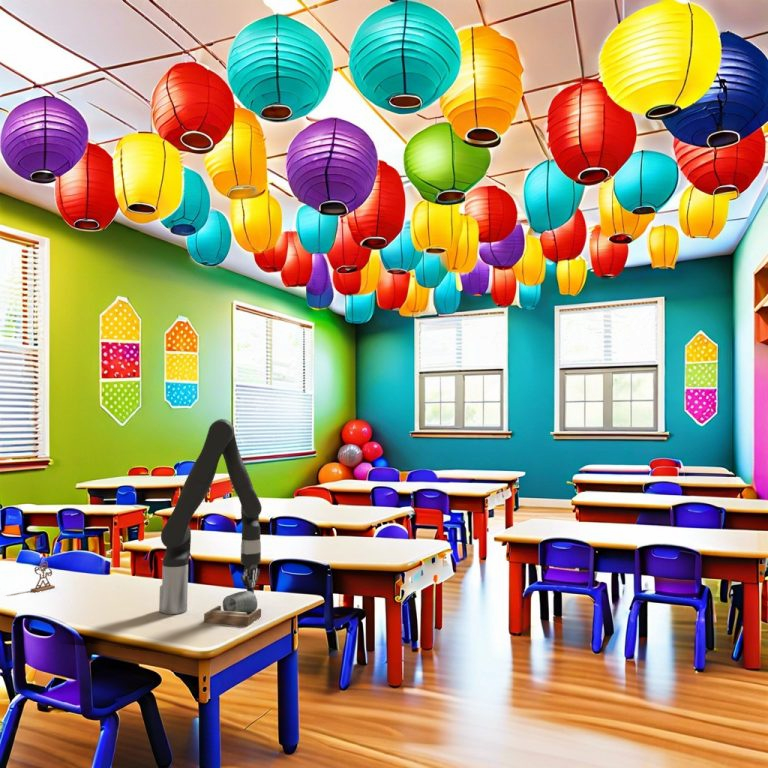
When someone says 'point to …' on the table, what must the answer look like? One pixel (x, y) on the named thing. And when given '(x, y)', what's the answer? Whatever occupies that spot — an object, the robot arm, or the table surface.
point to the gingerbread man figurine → (42, 588)
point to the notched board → (231, 617)
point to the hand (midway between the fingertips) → (250, 597)
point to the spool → (240, 602)
